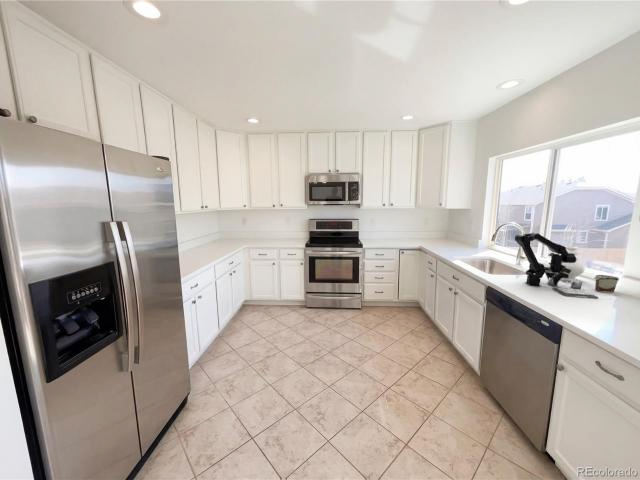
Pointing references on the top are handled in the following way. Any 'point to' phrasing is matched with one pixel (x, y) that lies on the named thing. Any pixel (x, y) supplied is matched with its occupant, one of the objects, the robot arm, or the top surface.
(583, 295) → the scale
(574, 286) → the spacer
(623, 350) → the top surface
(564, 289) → the scale pan
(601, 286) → the food container
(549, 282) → the spacer
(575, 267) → the decorative vase
